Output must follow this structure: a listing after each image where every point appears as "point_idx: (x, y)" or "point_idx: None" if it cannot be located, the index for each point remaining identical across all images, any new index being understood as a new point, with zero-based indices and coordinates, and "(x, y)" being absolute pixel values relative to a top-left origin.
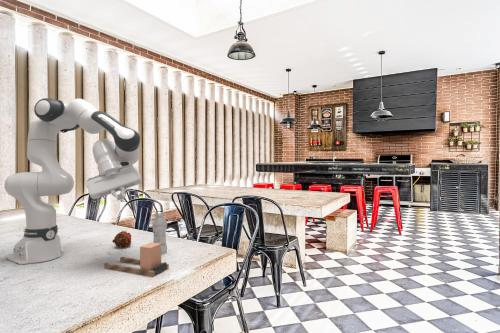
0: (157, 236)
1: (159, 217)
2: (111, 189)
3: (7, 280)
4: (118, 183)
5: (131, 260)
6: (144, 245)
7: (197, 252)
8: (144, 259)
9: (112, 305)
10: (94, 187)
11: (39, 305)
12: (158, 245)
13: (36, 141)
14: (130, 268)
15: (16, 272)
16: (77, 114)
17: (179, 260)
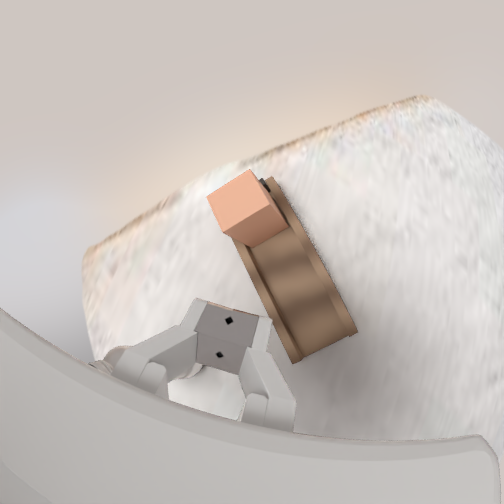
0: None
1: (111, 364)
2: (279, 429)
3: None
4: (129, 434)
5: (280, 318)
6: (253, 207)
7: (124, 298)
8: (272, 202)
9: (374, 120)
10: None
11: (487, 204)
12: (218, 190)
13: None
14: (308, 238)
15: (493, 444)
16: None
17: (174, 273)
